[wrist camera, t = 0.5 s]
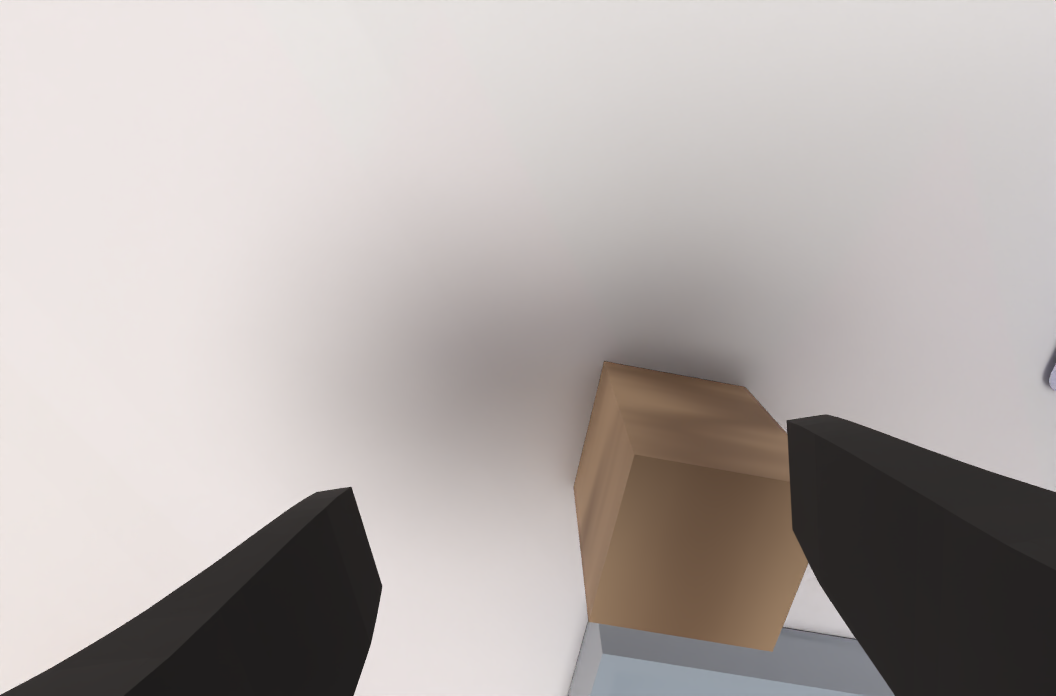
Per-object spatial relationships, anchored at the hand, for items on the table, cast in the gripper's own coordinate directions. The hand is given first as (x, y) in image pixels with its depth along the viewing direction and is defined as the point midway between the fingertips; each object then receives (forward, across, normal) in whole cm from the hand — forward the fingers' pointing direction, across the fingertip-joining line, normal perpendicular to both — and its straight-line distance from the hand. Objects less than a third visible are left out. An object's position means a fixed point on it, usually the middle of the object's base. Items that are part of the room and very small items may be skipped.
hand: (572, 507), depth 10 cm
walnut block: (+9, -3, +4) cm, 10 cm away
